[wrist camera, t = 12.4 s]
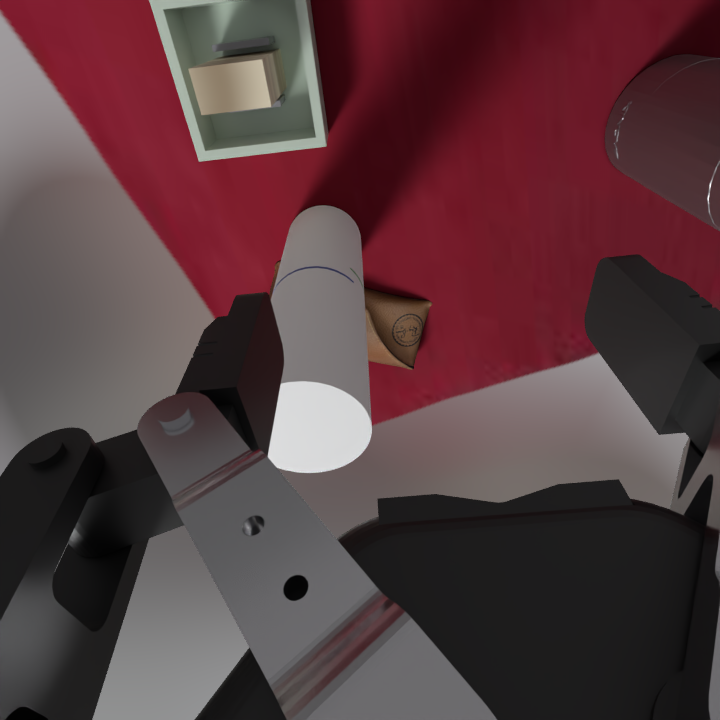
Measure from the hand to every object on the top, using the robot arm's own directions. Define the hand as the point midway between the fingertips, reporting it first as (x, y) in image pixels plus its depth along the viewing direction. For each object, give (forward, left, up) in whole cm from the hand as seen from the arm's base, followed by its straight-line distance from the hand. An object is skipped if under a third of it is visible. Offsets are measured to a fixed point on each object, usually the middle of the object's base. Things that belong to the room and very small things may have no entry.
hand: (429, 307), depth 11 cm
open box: (+9, -3, -32) cm, 33 cm away
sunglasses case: (+5, +20, -33) cm, 39 cm away
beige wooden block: (+9, -3, -32) cm, 33 cm away
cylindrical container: (+6, +12, -32) cm, 35 cm away
